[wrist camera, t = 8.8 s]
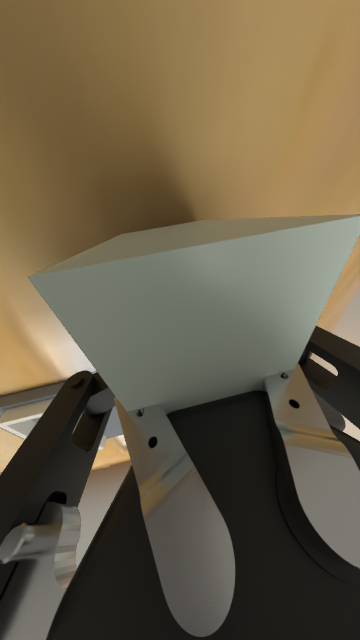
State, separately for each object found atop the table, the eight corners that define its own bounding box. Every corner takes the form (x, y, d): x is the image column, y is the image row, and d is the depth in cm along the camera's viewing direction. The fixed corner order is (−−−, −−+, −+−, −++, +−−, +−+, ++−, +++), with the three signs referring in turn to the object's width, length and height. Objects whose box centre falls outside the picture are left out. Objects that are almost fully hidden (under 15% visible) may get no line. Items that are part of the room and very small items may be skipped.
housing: (121, 234, 10) (27, 276, 2) (204, 219, 10) (369, 214, 3) (160, 358, 16) (170, 470, 9) (209, 346, 17) (257, 445, 9)
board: (-16, 400, 17) (-107, 499, 11) (184, 353, 19) (201, 417, 13) (57, 441, 25) (28, 512, 19) (193, 406, 27) (207, 461, 21)
